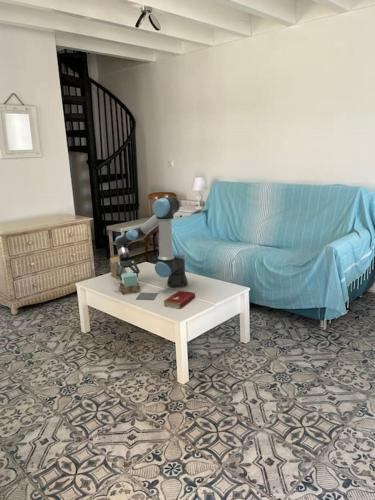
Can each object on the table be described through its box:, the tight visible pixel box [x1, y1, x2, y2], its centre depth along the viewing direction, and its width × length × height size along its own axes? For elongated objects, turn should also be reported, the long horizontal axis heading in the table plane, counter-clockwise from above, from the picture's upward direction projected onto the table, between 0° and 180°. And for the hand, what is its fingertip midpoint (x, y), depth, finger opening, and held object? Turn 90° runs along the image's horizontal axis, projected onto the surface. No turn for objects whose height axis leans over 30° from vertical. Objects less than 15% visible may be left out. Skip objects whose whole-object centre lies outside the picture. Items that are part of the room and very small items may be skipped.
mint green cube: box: [121, 271, 138, 287], centre depth 279 cm, size 9×9×7 cm
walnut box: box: [119, 282, 141, 295], centre depth 280 cm, size 12×11×7 cm
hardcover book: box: [163, 289, 196, 309], centre depth 258 cm, size 12×21×4 cm, turn 152°
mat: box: [135, 292, 159, 301], centre depth 269 cm, size 12×12×1 cm
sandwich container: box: [109, 255, 128, 281], centre depth 310 cm, size 9×15×15 cm, turn 39°
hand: (130, 283), depth 277 cm, fingers closed on mint green cube, 9 cm apart
